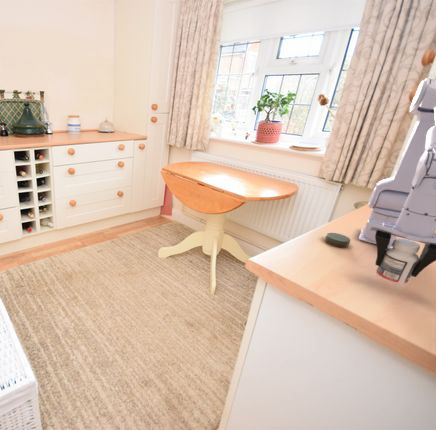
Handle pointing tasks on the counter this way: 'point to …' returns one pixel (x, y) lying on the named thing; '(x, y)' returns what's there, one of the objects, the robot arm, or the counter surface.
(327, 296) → the counter surface
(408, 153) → the robot arm
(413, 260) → the pill bottle
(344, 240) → the coaster stack
